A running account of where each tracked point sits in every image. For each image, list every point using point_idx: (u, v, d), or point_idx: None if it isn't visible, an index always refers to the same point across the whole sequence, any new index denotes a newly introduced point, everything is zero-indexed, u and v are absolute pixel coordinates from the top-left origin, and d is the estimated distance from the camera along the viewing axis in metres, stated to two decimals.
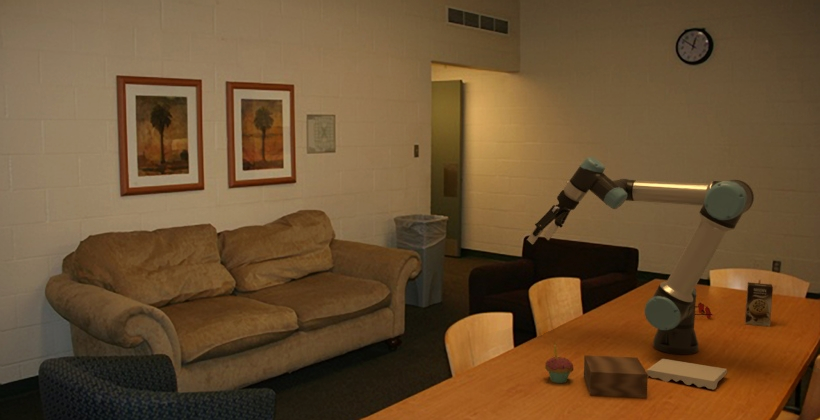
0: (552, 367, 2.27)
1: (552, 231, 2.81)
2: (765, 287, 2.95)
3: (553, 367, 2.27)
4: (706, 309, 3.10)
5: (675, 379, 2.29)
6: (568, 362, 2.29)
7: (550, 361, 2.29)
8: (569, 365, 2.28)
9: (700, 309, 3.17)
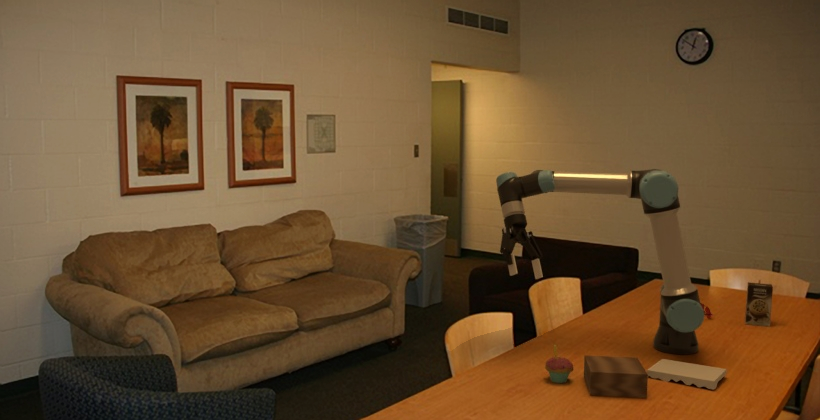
0: (552, 367, 2.27)
1: (537, 266, 2.53)
2: (765, 287, 2.95)
3: (553, 367, 2.27)
4: (706, 309, 3.10)
5: (675, 379, 2.29)
6: (568, 362, 2.29)
7: (550, 361, 2.29)
8: (569, 365, 2.28)
9: None
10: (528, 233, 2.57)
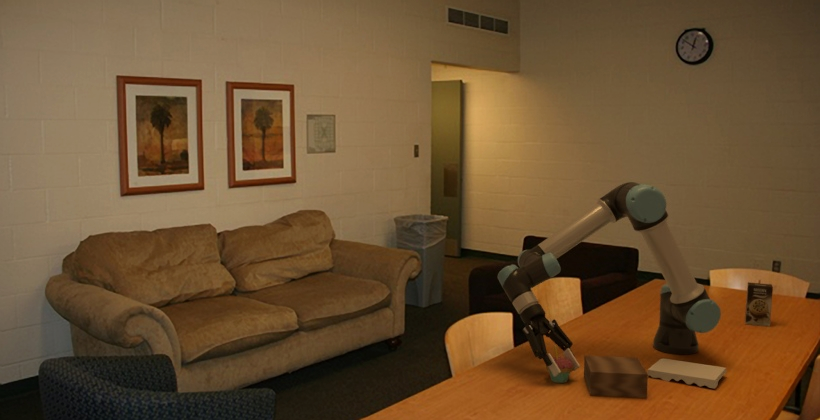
0: None
1: (570, 357, 2.32)
2: (765, 287, 2.95)
3: None
4: None
5: (676, 378, 2.30)
6: (568, 362, 2.29)
7: None
8: (569, 365, 2.28)
9: None
10: (551, 322, 2.39)
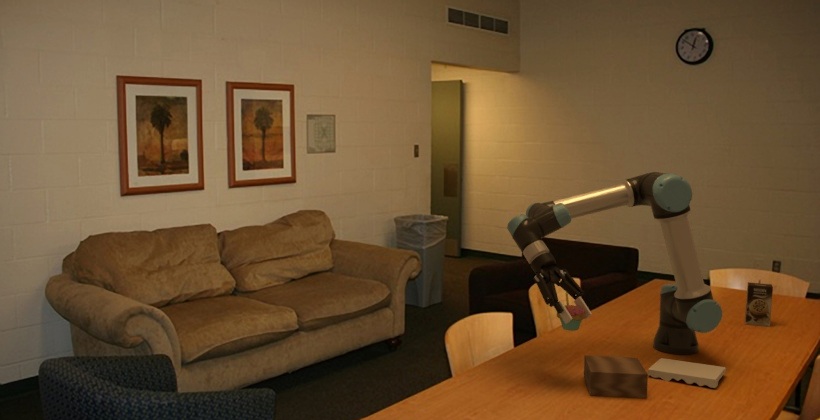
0: None
1: (582, 305, 2.29)
2: (765, 287, 2.95)
3: None
4: None
5: (676, 378, 2.30)
6: (580, 309, 2.26)
7: None
8: (581, 312, 2.25)
9: None
10: (562, 271, 2.36)
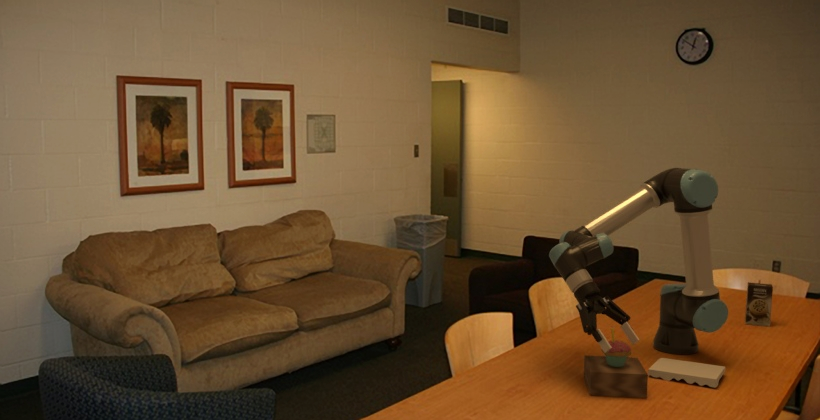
0: (610, 350, 2.21)
1: (629, 330, 2.27)
2: (765, 287, 2.95)
3: (610, 350, 2.21)
4: None
5: (677, 378, 2.30)
6: (626, 345, 2.22)
7: None
8: (627, 348, 2.21)
9: None
10: (605, 299, 2.33)
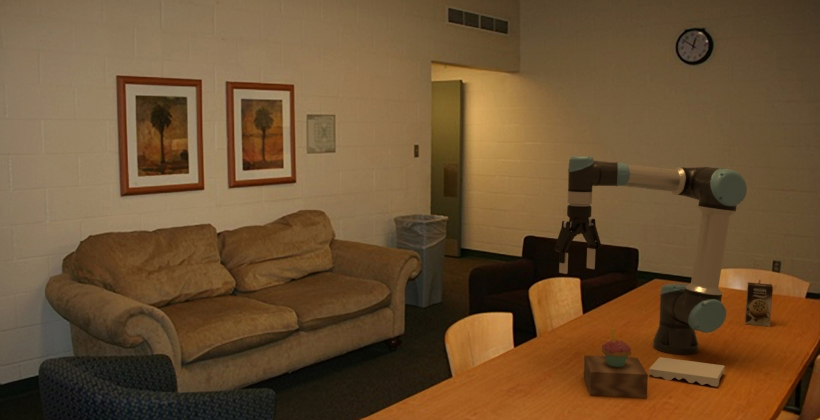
0: (610, 350, 2.21)
1: (591, 257, 2.44)
2: (765, 287, 2.95)
3: (610, 350, 2.21)
4: None
5: (678, 377, 2.31)
6: (626, 345, 2.22)
7: (607, 344, 2.23)
8: (627, 348, 2.21)
9: None
10: (590, 220, 2.42)
